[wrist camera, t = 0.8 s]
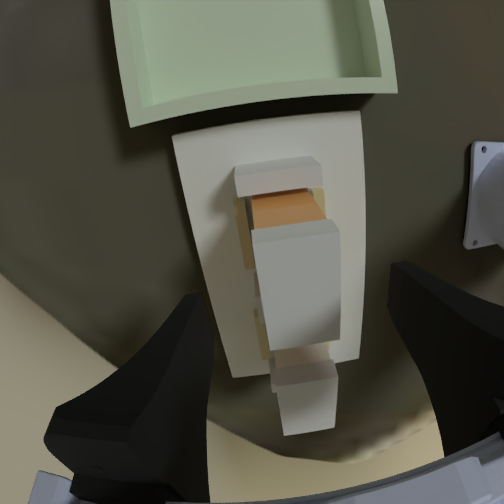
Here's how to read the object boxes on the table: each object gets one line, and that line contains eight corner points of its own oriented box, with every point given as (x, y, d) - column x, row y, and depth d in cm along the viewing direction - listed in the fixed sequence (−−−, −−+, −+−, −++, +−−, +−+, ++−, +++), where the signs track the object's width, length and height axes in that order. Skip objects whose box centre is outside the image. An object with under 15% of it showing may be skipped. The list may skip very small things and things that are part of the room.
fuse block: (354, 110, 16) (378, 113, 13) (355, 349, 24) (367, 381, 21) (175, 133, 16) (160, 142, 13) (233, 368, 25) (232, 402, 21)
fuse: (312, 294, 20) (338, 376, 14) (315, 349, 23) (334, 427, 16) (266, 301, 20) (275, 386, 14) (274, 355, 23) (284, 435, 16)
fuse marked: (303, 179, 17) (340, 231, 11) (310, 260, 19) (339, 339, 13) (248, 187, 17) (252, 244, 11) (261, 267, 19) (269, 350, 13)
